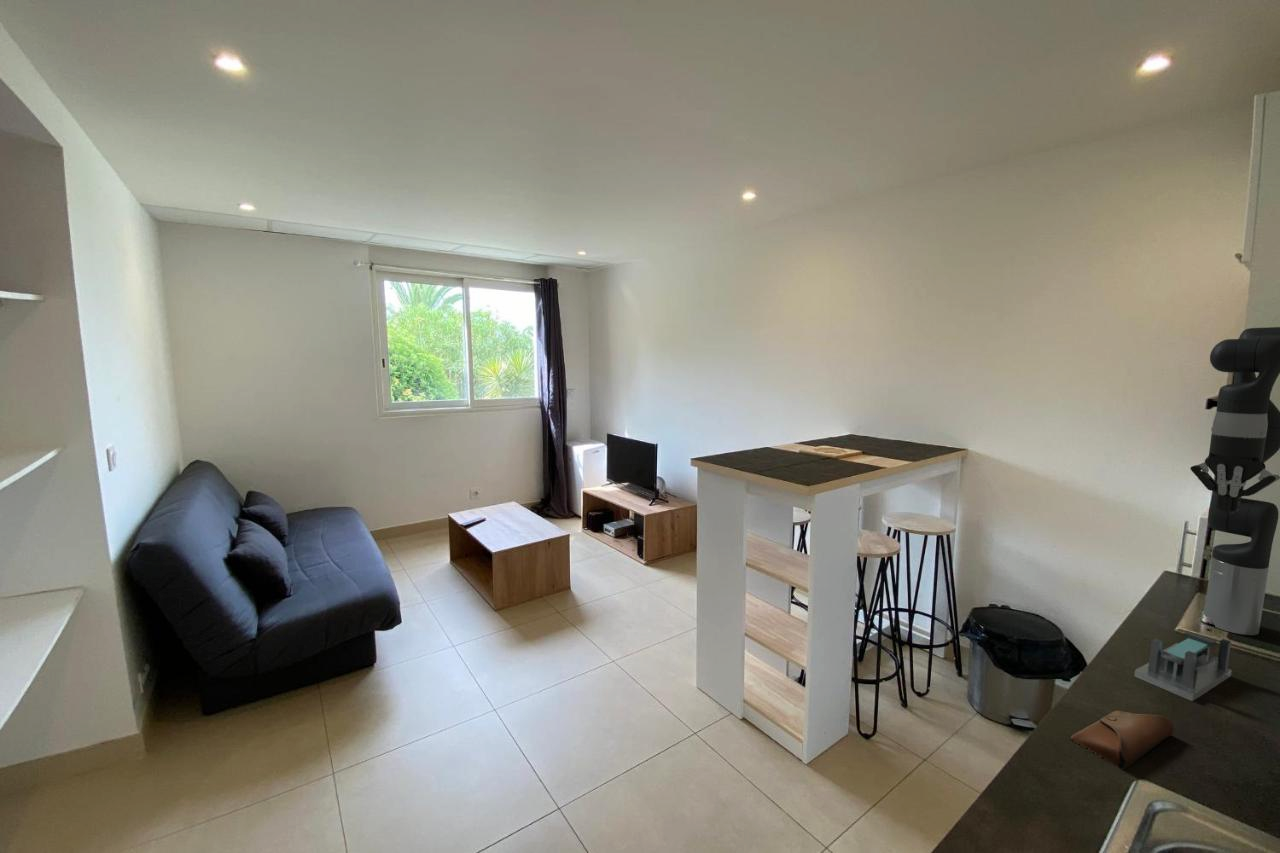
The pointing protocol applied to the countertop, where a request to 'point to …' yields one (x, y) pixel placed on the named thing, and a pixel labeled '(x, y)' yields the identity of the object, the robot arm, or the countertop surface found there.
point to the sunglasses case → (1124, 736)
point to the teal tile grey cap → (1187, 647)
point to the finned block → (1186, 670)
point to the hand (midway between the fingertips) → (1227, 512)
